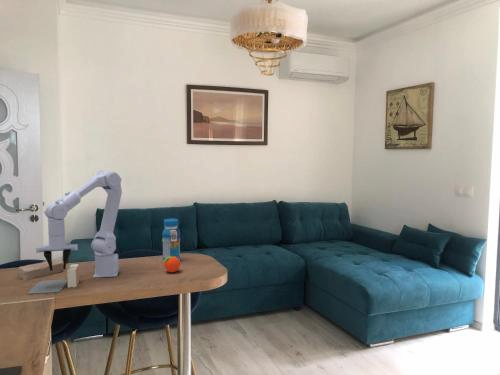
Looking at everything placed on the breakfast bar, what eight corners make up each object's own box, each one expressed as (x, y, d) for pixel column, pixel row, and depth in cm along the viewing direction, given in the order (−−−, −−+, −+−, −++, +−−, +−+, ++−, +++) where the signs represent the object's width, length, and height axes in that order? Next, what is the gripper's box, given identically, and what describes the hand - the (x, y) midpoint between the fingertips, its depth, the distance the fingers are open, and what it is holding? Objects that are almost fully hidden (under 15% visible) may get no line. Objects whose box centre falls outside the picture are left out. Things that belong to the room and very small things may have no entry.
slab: (79, 281, 170) (78, 264, 169) (76, 287, 162) (75, 269, 161) (71, 281, 169) (70, 264, 168) (67, 287, 161) (67, 270, 161)
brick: (25, 281, 170) (24, 269, 170) (16, 277, 175) (16, 266, 175) (65, 272, 183) (64, 261, 182) (55, 268, 188) (55, 258, 188)
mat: (68, 280, 170) (68, 279, 170) (59, 292, 156) (59, 291, 156) (40, 281, 168) (39, 280, 168) (27, 294, 154) (27, 293, 154)
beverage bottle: (159, 262, 197) (159, 220, 195) (166, 258, 206) (165, 217, 204) (176, 263, 196) (176, 221, 194) (182, 258, 204) (182, 218, 202)
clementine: (167, 275, 177) (167, 259, 176) (159, 272, 182) (158, 256, 181) (183, 272, 182) (183, 256, 182) (175, 268, 187) (174, 253, 187)
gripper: (77, 231, 167) (78, 264, 168) (36, 234, 162) (38, 268, 163) (76, 235, 161) (78, 269, 162) (34, 237, 155) (36, 273, 157)
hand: (58, 269), depth 162 cm, fingers open, 4 cm apart
